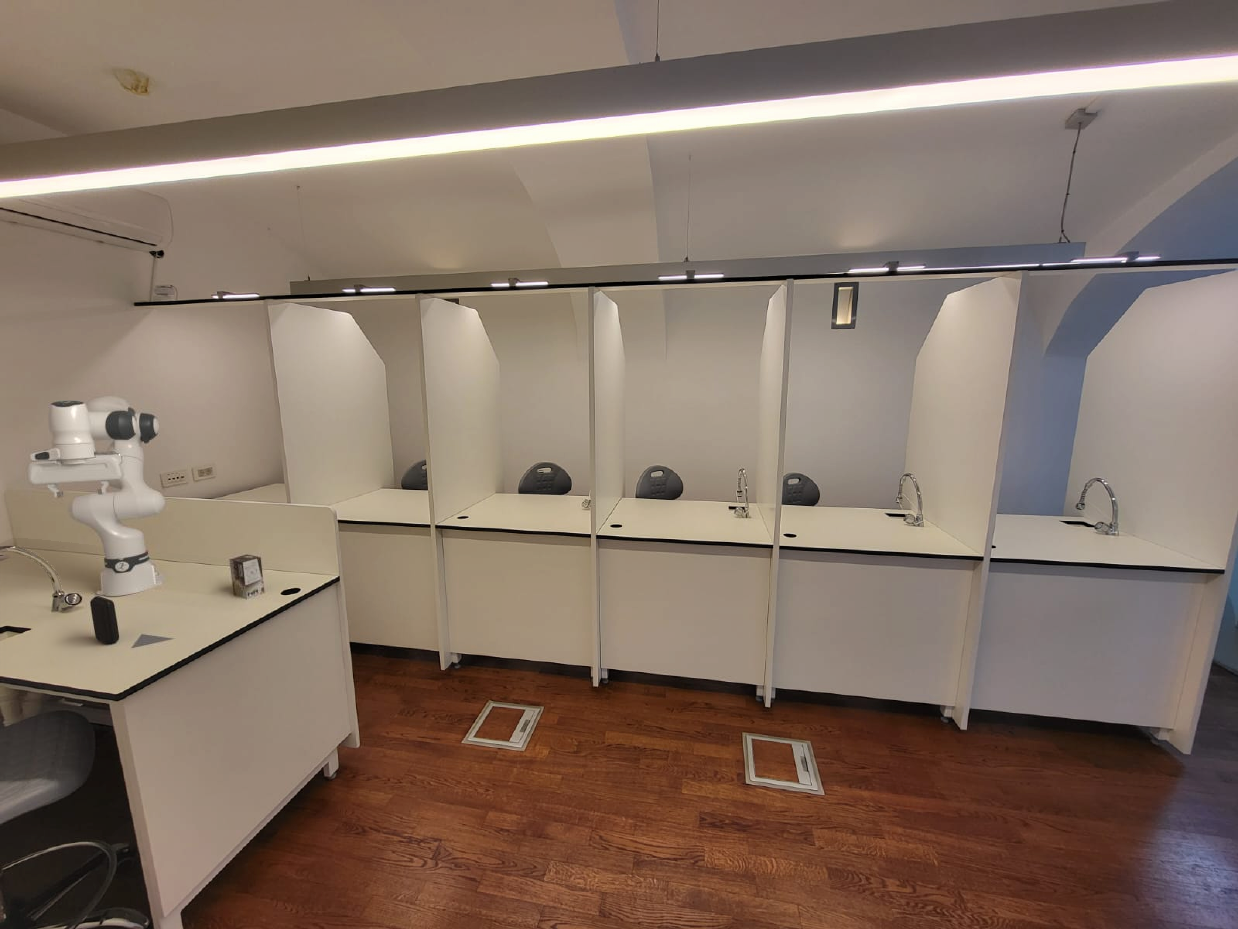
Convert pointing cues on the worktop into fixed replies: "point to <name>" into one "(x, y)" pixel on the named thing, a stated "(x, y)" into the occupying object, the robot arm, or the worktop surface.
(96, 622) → the carrying case or bag
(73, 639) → the worktop surface
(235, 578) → the coffee box
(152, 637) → the mat
